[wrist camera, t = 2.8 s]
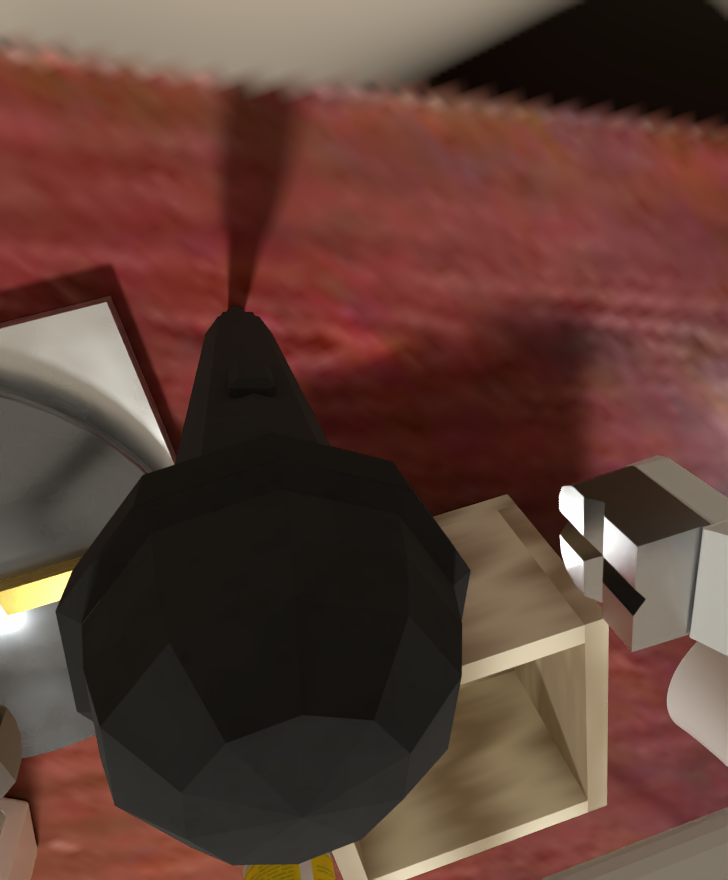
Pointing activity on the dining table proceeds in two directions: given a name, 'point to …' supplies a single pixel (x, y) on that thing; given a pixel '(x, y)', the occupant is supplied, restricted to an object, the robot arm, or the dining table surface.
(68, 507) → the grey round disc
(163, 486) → the microphone
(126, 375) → the base
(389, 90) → the dining table surface
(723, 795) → the dining table surface
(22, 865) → the jar
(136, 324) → the dining table surface
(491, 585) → the open wooden box
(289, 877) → the supplement bottle
